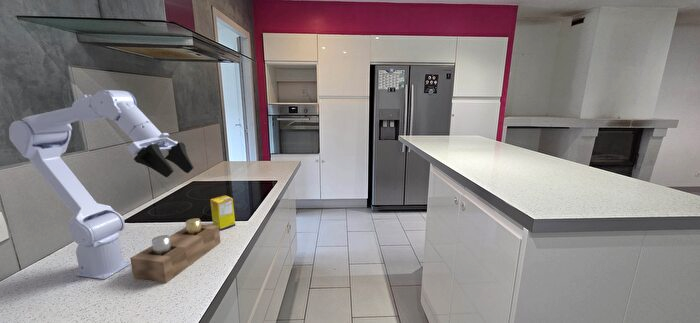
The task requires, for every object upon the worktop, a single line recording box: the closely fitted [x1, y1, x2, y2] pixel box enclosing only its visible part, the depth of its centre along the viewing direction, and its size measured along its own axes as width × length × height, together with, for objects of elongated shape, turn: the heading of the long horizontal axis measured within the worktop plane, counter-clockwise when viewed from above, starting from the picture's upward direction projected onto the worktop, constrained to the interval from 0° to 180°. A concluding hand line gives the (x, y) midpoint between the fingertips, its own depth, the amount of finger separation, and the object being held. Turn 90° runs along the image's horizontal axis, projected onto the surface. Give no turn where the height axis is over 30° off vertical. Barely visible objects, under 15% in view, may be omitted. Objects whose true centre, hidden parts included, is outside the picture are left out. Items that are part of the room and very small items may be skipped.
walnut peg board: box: [129, 224, 221, 284], centre depth 84 cm, size 10×22×6 cm, turn 169°
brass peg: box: [185, 217, 202, 235], centre depth 89 cm, size 4×4×6 cm
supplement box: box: [210, 195, 236, 232], centre depth 106 cm, size 6×6×11 cm
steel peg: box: [151, 234, 171, 256], centre depth 77 cm, size 4×4×6 cm
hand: (180, 172), depth 68 cm, fingers open, 7 cm apart
